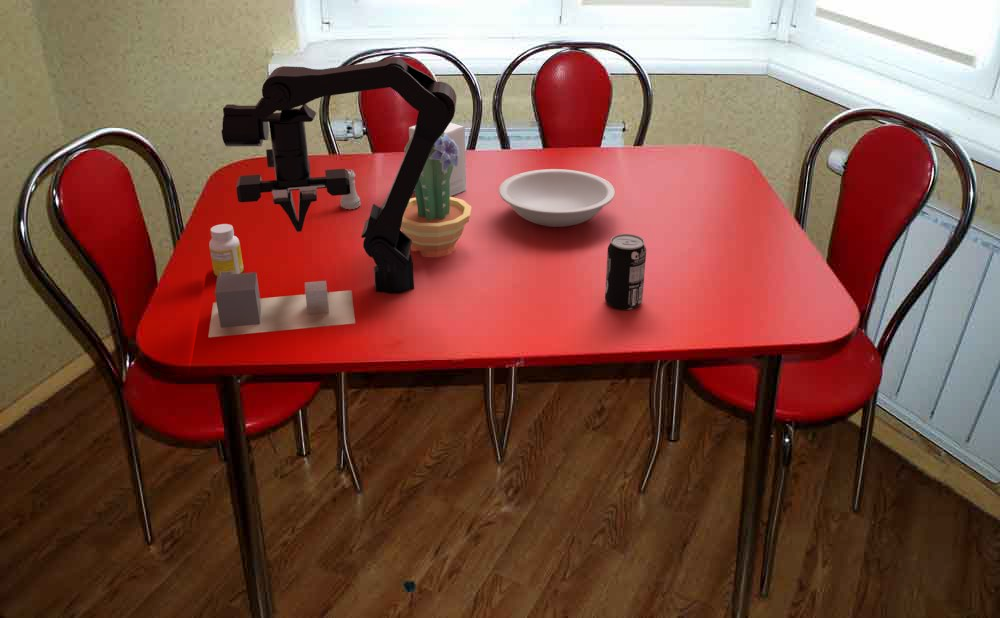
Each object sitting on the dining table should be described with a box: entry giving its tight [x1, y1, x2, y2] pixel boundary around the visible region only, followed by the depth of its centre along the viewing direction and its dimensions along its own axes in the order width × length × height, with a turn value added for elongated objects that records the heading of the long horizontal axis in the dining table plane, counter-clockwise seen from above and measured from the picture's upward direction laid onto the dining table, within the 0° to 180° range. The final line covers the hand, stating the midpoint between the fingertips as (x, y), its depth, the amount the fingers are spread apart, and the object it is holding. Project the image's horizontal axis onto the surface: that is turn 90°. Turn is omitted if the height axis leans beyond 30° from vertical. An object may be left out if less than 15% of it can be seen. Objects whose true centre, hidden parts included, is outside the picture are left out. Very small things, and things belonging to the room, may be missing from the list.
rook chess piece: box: [339, 169, 362, 210], centre depth 206 cm, size 4×4×8 cm
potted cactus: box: [400, 132, 472, 258], centre depth 184 cm, size 15×15×25 cm
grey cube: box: [304, 280, 329, 315], centre depth 165 cm, size 4×4×4 cm
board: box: [208, 290, 356, 338], centre depth 165 cm, size 24×12×1 cm, turn 101°
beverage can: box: [604, 233, 647, 311], centre depth 167 cm, size 7×7×12 cm
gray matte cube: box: [214, 271, 261, 328], centre depth 162 cm, size 6×6×7 cm
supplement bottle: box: [208, 223, 245, 277], centre depth 177 cm, size 5×5×10 cm
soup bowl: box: [498, 168, 616, 228], centre depth 200 cm, size 24×24×7 cm
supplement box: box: [408, 122, 467, 197], centre depth 212 cm, size 9×9×15 cm
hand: (299, 230), depth 168 cm, fingers closed
